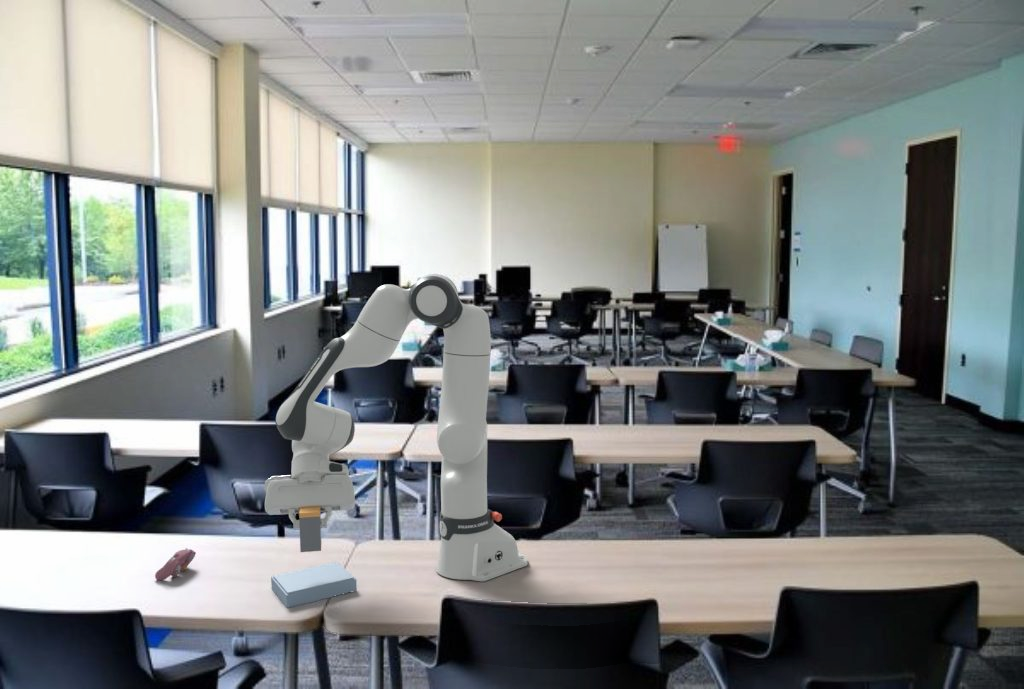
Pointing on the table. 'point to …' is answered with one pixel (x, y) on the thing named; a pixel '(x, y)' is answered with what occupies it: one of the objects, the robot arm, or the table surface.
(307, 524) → the block
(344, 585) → the stand
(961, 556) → the table surface
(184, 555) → the video game controller
